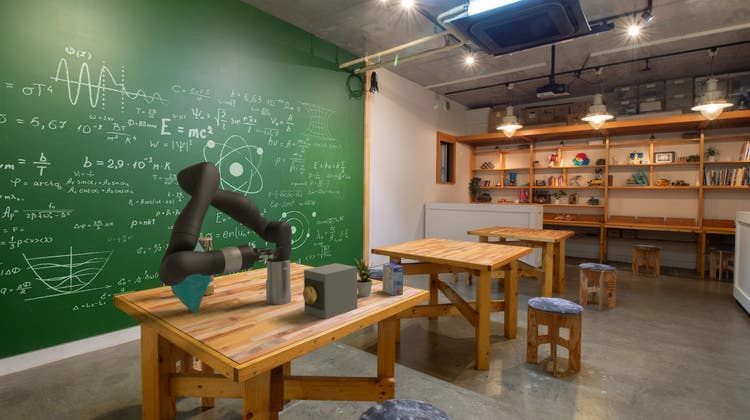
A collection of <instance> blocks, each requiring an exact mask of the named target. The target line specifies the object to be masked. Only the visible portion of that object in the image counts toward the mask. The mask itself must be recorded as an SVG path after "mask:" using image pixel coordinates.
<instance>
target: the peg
mask: <svg viewBox="0 0 750 420" xmlns="http://www.w3.org/2000/svg"><path fill="white" fill-rule="evenodd" d="M302 297H303V300H304V303H305V302H306V303H307V304H314V303H316V302H317V301H318V299H319V293H318V290H317V288H316V287H315V286H313V285H311V286H307V287H305V288H304V287H303V290H302Z"/></svg>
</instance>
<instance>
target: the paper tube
mask: <svg viewBox="0 0 750 420" xmlns="http://www.w3.org/2000/svg"><path fill="white" fill-rule="evenodd" d="M198 242H199V244H200V245H201V247H202V249H203V251H204V252H206V251H212V250H214V249H213V247H214V246H213V237H209V236H208V237H199V239H198ZM214 293H215V278H214V275H211V277H210V282H209V284H208V287H207V289H206V291H205V294H204V295H208V296H211V295H213V294H214ZM210 294H211V295H210Z"/></svg>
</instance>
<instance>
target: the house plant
mask: <svg viewBox="0 0 750 420" xmlns="http://www.w3.org/2000/svg"><path fill="white" fill-rule="evenodd" d="M354 260H355V262H357V265H356V264H354V263H353V266H354V267H357V276H358V279H357V296H359V297H365V298H366V297H370V296H371V294H372V293H371V292H372V286H373V280H372V279H371V278H372V277H373V276H377V275H378V274H377V273H376V272H373V271H372V267H373V264H374V262H371V265H370V267H369V264H368V265H366V261H367V259H365V260H363V259H362V258H361V259H360V262H359V260H357V259H356V258H354ZM348 263H351V262H349V261H348ZM375 265H377V263H375V264H374V266H375ZM349 266H352V263H351V264H349ZM371 271H372V272H371ZM375 273H376V274H375ZM372 274H373V275H372Z"/></svg>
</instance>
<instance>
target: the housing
mask: <svg viewBox="0 0 750 420" xmlns="http://www.w3.org/2000/svg"><path fill="white" fill-rule="evenodd" d="M354 266H355V265H353V266H352V265H346V264H342V263H336V262H335V263H331V264H326V265H321V266H317V267H316V266H315V267H311V268H307V269H306V268H305V269H303V279H304V278H307V279H311V280H316V281H320V282H323V285H324V310H323V311H322V310H319V309H315V308H312V307H309V306H306V305H305V304H304V313H306V314H310V315H313V316H315V317H318V318H322V319H324V320H327V319H330V318H333V317H336V316H339V315H341V314H345V313H347V312H351V311H353V310H357V309H358V289H357V280H358V275H357V274H358V272H357V270H358V268H357V266H355V267H354Z"/></svg>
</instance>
